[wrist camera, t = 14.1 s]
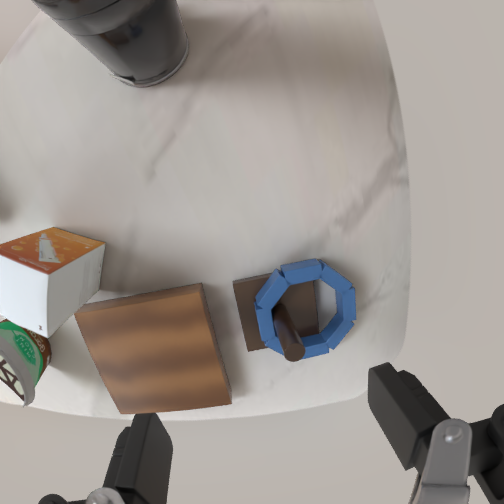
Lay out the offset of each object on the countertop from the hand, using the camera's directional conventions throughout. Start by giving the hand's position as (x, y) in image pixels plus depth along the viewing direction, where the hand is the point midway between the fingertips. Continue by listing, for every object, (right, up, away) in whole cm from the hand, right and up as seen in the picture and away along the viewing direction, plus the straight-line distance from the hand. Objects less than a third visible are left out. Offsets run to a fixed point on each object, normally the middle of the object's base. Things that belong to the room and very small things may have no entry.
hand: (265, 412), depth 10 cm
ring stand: (+3, -1, +26) cm, 26 cm away
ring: (+6, -1, +25) cm, 26 cm away
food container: (-32, -6, +24) cm, 41 cm away
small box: (-22, +5, +23) cm, 32 cm away
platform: (-13, -7, +26) cm, 30 cm away
